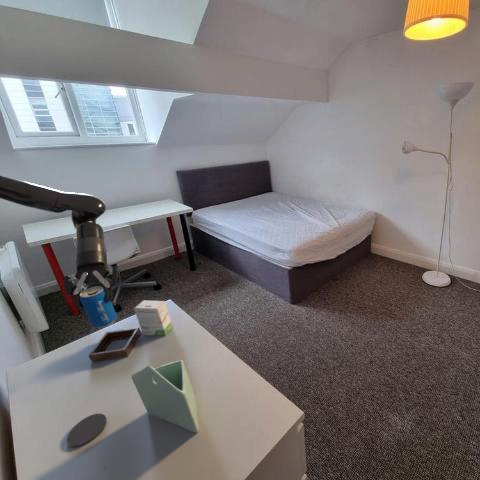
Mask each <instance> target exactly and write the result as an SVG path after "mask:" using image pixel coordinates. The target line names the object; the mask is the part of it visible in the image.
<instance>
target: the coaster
mask: <svg viewBox="0 0 480 480" xmlns="http://www.w3.org/2000/svg"><path fill="white" fill-rule="evenodd" d="M107 422H108V419H107V416H106V415H105V414H103V413H93V414H91V415H88V416H86V417H85V418H82V419H81V420H80V421H79V422H78V423H76V424H75V425H74V426H73V427H72V428H71V430H70V431H69V433H68V435H67V439H66V442H67V444H68V445H69V446H70V447H72V448H79V447H83V446H85V445H87V444H89V443H91V442H92V441H94V440H95V439H96V438H97V437H99V435H100V434H102V432H103V431H104V430H105V428H106V426H107Z"/></svg>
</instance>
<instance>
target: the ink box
mask: <svg viewBox="0 0 480 480" xmlns="http://www.w3.org/2000/svg"><path fill="white" fill-rule="evenodd" d="M133 310H134V312H135V315H136V316H135V317H136V318H137V321H138V324H139V328H140V331H141V333H142V335H143V336H159V337H160V336H164V337H165V336H167V335H168V333H169V332H170V331H171V329H172V328H173V323H172V319H171V316H170V313H169V310H168V306H167V303H166V300H145V299H143V300H142V301H141V302H139V303H138V304H137V305H136V306H135V307H134V308H133Z"/></svg>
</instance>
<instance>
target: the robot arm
mask: <svg viewBox="0 0 480 480" xmlns="http://www.w3.org/2000/svg"><path fill="white" fill-rule="evenodd" d="M0 199H1V200H4V201H8V202H11V203H14V204H17V205H20V206H23V207H27V208H31V209H36V210H40V211H44V212H49V213H54V214H61V213H65V212H69V211H70V218H71V221H72V224H73V227H74V230H75V240H76V242H75V243H76V244H75V260H76V261H75V265H76V267H75V268H76V272H75V274H73V275H69V276H68V275H65V276H63V284H64V291H65V294H66V295H68V296H70V297H74V299H73V301H74V306H75V307H77V308H78V309H84V307H83V305H82V303H81V301H80V297H81V296H80V294H81V293H82V292H83V291H84V290H86V289H88V288H89V286H93V285H99V284H102V285H103V286H104V287H105V288H104V289H105V297H106V301H108V302H109V301H111V302H112V299H114V291H113V289H114V288H116V287H119V286H120V283H121V269H120V268H119V267H117V266H113V267H108V257H107V256H108V255H107V252H108V250H107V245H106V242H105V231H104V228H103V226H102V224H100V223H97V219H98V218H100V217H101V216H102V215H104V213H105V212H106V211H107V205H106V203H105V202H104V201H103V200H102V199H101V198H99V197H97V196H95V195H91V194H86V193H77V192H76V193H75V192H66V191H65V192H64V191H60V190H57V189H53V188H50V187H46V186H43V185H38V184H35V183H31V182H28V181H23V180H19V179H15V178H11V177H8V176H4V175H0ZM109 274H110V275H112V277H111V282H110V281H109V280H108V279H107V276H108V275H109ZM76 280H78V282H77V284H76V285H74V283H75V282H76ZM75 286H76V288H75Z"/></svg>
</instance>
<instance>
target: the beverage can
mask: <svg viewBox="0 0 480 480" xmlns="http://www.w3.org/2000/svg"><path fill="white" fill-rule="evenodd" d="M105 289H106V288H104V287H103V286H102V285H95V286H92V287H87V289H86V290H84V291H83V292H82V293H81V294H80V296H81V297H80V301H81V303H82V305H83V309H84V311H85V313H86V315H87V318H88V320H89V321H90V324H91V326H92V327H93V328H99V329H101V328H107V327H108V326H110V325H112V324H113V323H114V322H115V321H116V320H117V318H118V315H117V312H116V310H115V308H114V305H113V303H112V300H111V301H109V302H108V301H106V297H105Z"/></svg>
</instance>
